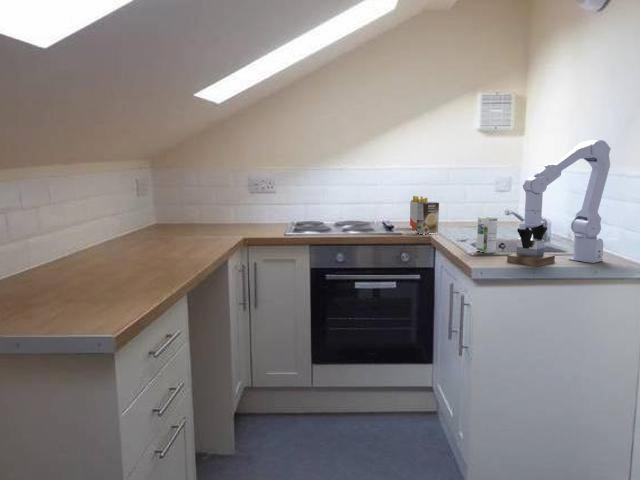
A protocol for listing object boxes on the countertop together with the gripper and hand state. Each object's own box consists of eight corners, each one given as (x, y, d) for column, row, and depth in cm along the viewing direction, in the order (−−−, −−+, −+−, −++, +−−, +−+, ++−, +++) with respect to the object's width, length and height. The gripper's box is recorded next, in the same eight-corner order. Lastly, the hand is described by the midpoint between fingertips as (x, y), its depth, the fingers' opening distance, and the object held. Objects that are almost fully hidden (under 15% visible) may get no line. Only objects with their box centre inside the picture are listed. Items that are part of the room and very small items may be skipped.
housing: (543, 255, 196) (544, 239, 195) (536, 257, 193) (537, 241, 192) (523, 252, 202) (524, 237, 201) (516, 254, 199) (517, 238, 198)
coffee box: (423, 235, 265) (424, 203, 263) (416, 234, 271) (416, 202, 269) (438, 234, 269) (439, 202, 267) (430, 232, 275) (431, 201, 272)
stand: (554, 262, 197) (554, 255, 196) (537, 266, 189) (537, 259, 189) (524, 257, 206) (524, 251, 205) (507, 261, 198) (507, 255, 198)
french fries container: (415, 228, 292) (415, 195, 289) (431, 230, 284) (432, 196, 281) (409, 229, 289) (410, 195, 286) (425, 231, 281) (426, 197, 278)
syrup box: (475, 251, 220) (477, 216, 218) (487, 250, 223) (488, 215, 220) (484, 253, 215) (485, 217, 213) (496, 252, 217) (498, 217, 215)
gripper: (533, 208, 202) (531, 243, 204) (512, 210, 193) (510, 247, 195) (551, 209, 197) (549, 245, 199) (530, 212, 188) (528, 250, 190)
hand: (531, 247), depth 197 cm, fingers open, 7 cm apart
